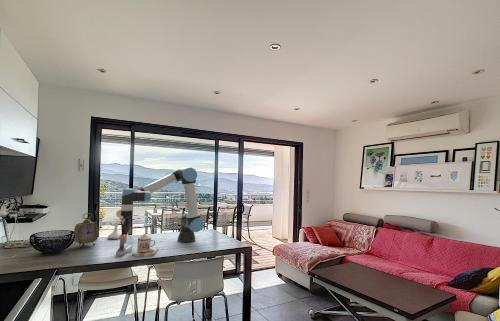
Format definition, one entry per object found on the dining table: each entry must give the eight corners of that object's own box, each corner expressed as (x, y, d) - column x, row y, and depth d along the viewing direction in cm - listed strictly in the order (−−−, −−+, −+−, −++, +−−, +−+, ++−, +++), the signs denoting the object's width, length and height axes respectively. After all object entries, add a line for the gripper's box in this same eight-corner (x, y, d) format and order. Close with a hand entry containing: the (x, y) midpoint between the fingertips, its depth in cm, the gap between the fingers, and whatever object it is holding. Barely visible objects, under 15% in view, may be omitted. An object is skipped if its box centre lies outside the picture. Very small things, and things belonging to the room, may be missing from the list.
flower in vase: (106, 240, 218) (108, 209, 220) (109, 237, 229) (111, 208, 231) (123, 239, 222) (125, 210, 223) (125, 236, 232) (127, 208, 234)
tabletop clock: (77, 249, 189) (80, 214, 190) (71, 247, 194) (74, 213, 195) (97, 245, 201) (100, 212, 203) (91, 243, 206) (94, 211, 208)
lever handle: (126, 249, 184) (127, 233, 185) (123, 251, 179) (124, 235, 180) (119, 249, 183) (120, 233, 184) (116, 251, 179) (118, 234, 180)
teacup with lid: (136, 252, 181) (137, 235, 182) (136, 249, 190) (137, 233, 191) (154, 251, 186) (156, 235, 187) (154, 248, 194) (155, 232, 195)
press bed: (158, 250, 195) (158, 248, 195) (153, 256, 181) (153, 253, 182) (138, 250, 194) (139, 247, 194) (132, 255, 180) (132, 253, 180)
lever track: (131, 249, 195) (132, 245, 195) (123, 256, 179) (123, 251, 179) (124, 249, 194) (125, 245, 194) (115, 256, 178) (116, 251, 178)
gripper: (124, 208, 194) (122, 240, 193) (117, 211, 181) (115, 245, 180) (135, 209, 194) (133, 241, 193) (128, 211, 182) (126, 246, 181)
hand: (124, 243), depth 187 cm, fingers closed
